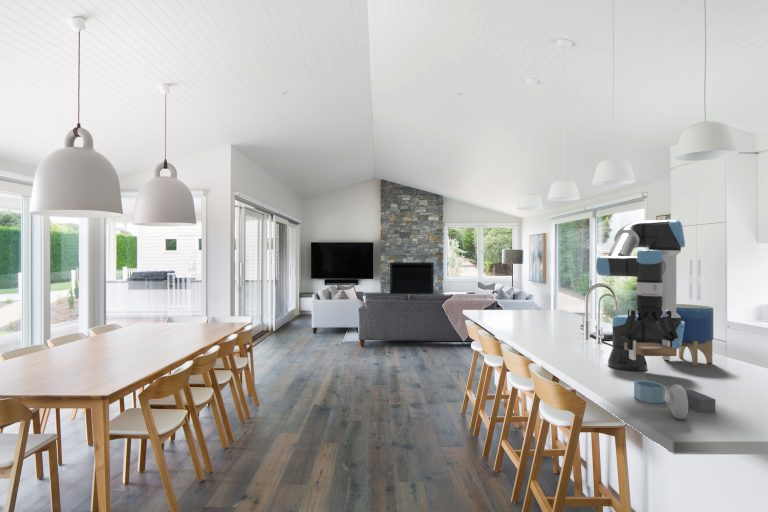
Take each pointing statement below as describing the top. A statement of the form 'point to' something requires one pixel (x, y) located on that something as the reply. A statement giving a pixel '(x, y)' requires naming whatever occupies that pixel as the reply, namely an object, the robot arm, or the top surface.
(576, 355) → the top surface
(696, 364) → the planter
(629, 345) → the robot arm
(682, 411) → the donut
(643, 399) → the bowl
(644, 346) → the board
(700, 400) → the block
